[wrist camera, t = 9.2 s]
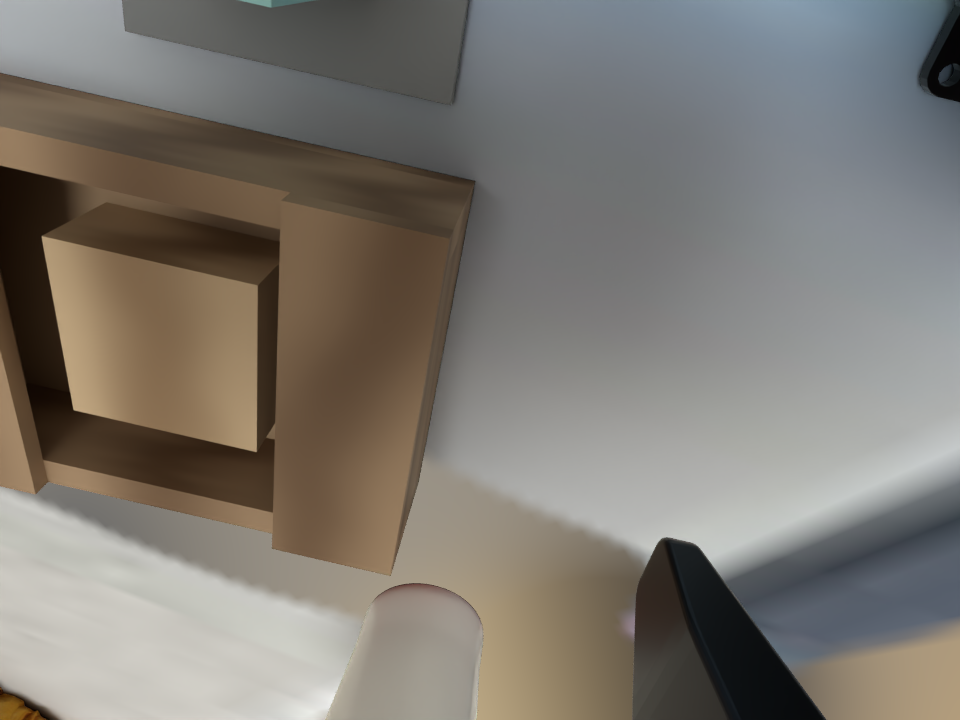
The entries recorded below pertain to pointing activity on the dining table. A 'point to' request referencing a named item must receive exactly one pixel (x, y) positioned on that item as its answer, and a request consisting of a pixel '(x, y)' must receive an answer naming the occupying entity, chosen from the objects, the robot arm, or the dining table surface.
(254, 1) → the block
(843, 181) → the dining table surface
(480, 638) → the drinking glass
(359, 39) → the mat
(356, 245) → the crate
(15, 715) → the croissant
